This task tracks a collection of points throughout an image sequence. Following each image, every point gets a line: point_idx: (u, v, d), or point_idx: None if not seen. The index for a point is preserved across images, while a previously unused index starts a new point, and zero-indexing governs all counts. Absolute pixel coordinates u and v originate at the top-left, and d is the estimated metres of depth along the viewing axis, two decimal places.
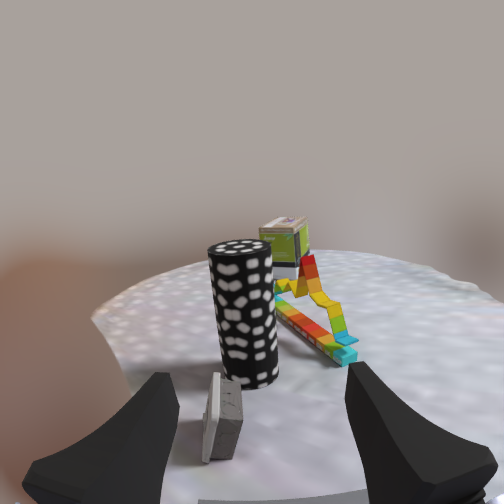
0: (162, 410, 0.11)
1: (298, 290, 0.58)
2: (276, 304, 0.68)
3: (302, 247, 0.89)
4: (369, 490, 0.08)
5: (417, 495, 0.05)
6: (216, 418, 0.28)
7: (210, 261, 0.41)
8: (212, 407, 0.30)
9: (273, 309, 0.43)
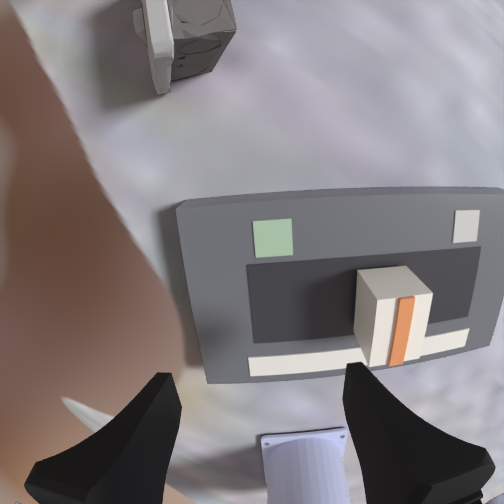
0: (164, 410, 0.11)
1: None
2: None
3: None
4: (366, 491, 0.08)
5: (413, 496, 0.05)
6: (167, 48, 0.10)
7: None
8: (150, 20, 0.09)
9: None
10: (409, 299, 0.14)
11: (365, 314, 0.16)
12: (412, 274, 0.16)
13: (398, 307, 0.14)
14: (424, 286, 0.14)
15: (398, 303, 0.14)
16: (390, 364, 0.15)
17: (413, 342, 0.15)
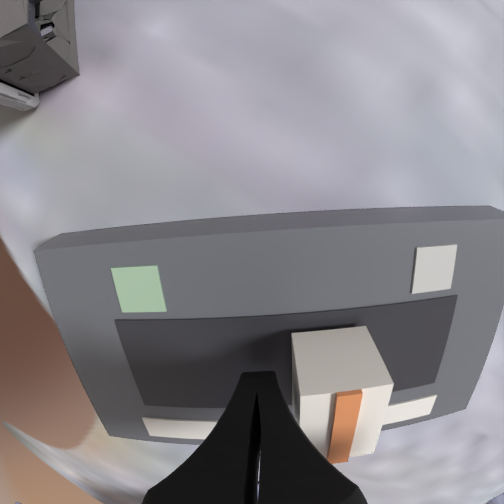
0: (258, 411, 0.10)
1: None
2: None
3: None
4: None
5: None
6: None
7: None
8: None
9: None
10: (352, 396, 0.09)
11: (295, 397, 0.11)
12: (371, 343, 0.11)
13: (335, 403, 0.09)
14: (383, 369, 0.10)
15: (335, 399, 0.09)
16: None
17: (363, 439, 0.10)
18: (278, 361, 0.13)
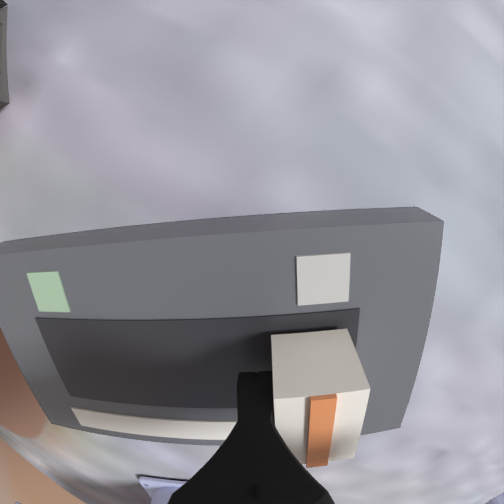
0: None
1: None
2: None
3: None
4: None
5: None
6: None
7: None
8: None
9: None
10: (326, 400, 0.09)
11: None
12: (351, 347, 0.11)
13: (310, 407, 0.09)
14: (361, 373, 0.10)
15: (309, 403, 0.09)
16: (307, 465, 0.10)
17: (342, 443, 0.10)
18: (169, 364, 0.14)
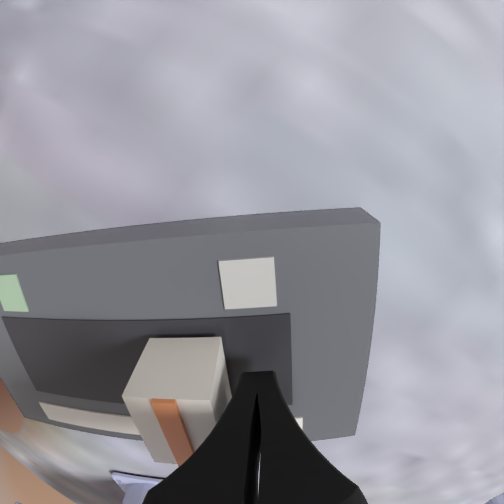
0: (258, 411, 0.10)
1: None
2: None
3: None
4: None
5: None
6: None
7: None
8: None
9: None
10: (165, 404, 0.09)
11: None
12: (214, 355, 0.11)
13: (156, 408, 0.09)
14: (209, 383, 0.10)
15: (154, 404, 0.09)
16: None
17: None
18: (115, 362, 0.14)
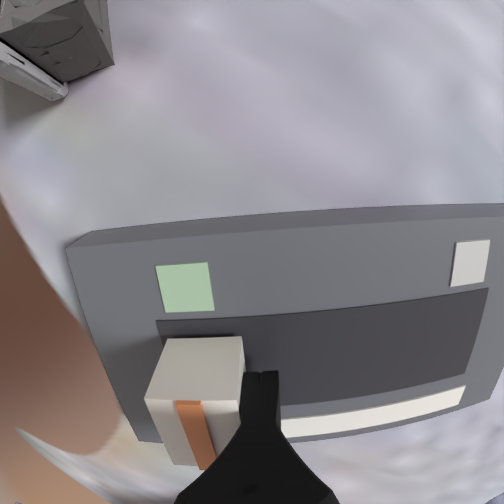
0: (279, 410, 0.10)
1: None
2: None
3: None
4: None
5: None
6: None
7: None
8: None
9: None
10: (190, 406, 0.09)
11: None
12: (236, 355, 0.11)
13: (180, 411, 0.09)
14: (234, 383, 0.10)
15: (178, 406, 0.09)
16: (200, 468, 0.10)
17: None
18: (324, 357, 0.13)
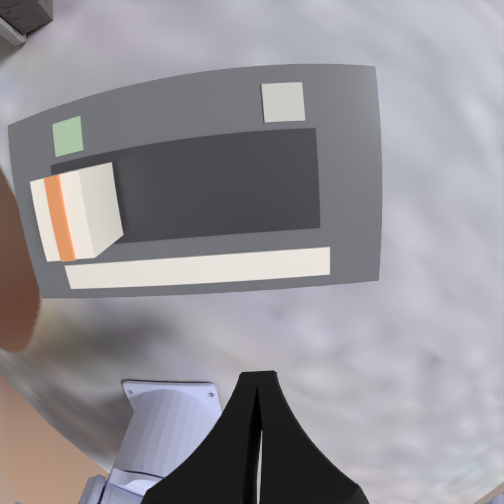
0: (257, 411, 0.10)
1: None
2: None
3: None
4: None
5: None
6: None
7: None
8: None
9: None
10: (51, 177, 0.12)
11: None
12: (99, 165, 0.14)
13: (48, 188, 0.12)
14: (85, 168, 0.13)
15: (46, 183, 0.12)
16: (61, 259, 0.13)
17: (77, 233, 0.13)
18: (160, 188, 0.16)
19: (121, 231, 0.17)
